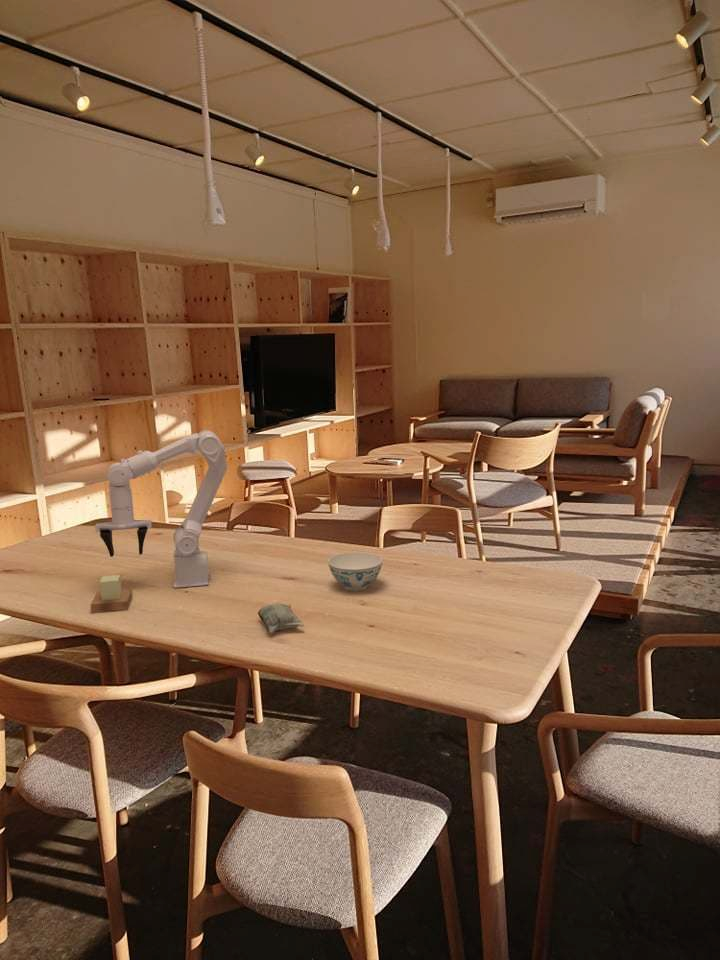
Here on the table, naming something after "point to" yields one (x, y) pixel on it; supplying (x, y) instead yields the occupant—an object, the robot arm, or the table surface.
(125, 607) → the walnut box
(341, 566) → the chinaware
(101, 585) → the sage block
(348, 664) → the table surface
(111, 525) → the robot arm
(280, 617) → the packaged food
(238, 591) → the table surface
